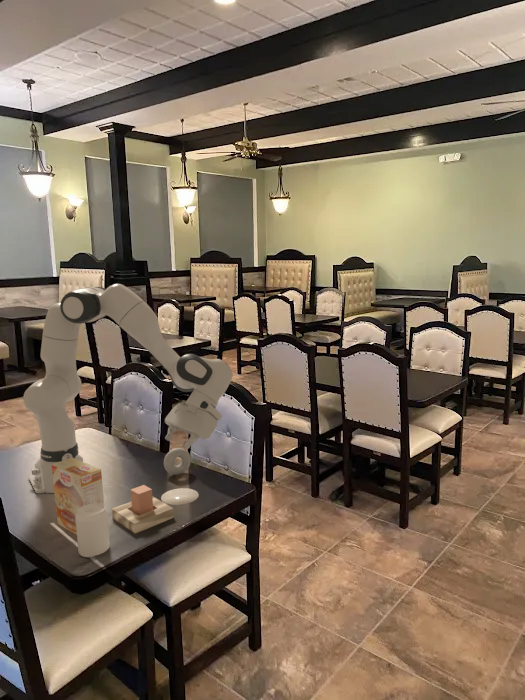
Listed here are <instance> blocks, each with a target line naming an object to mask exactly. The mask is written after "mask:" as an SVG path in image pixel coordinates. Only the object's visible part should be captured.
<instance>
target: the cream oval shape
mask: <svg viewBox="0 0 525 700" xmlns="http://www.w3.org/2000/svg"><path fill="white" fill-rule="evenodd" d="M199 497H200V496H199V492H198V491H197V490H195V489H192V488H188V487H187V488H186V487H183V488H182V487H180V488H174V489H170V490H168V491H166V492H164V493H163V494H162V495H161V497H160V499H161V500H160V501H162V502H164V503H165V504H167V505H169V506H180V505H182V506H183V505H186V504H189V503H193V502H194V501H196V500H197V499H198V498H199Z"/></svg>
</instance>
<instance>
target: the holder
mask: <svg viewBox="0 0 525 700" xmlns="http://www.w3.org/2000/svg"><path fill="white" fill-rule="evenodd" d="M152 499H153V510H152V511H150V512H147V513H144V514H142V515H139V516H138V515H136V514H135V513H133V512H132V503H131V501H129V502H127V503H124V504H121V505H118V506H115V507H113V508H111V515H112V516H111V517H112V519H113V520H115V521H116V522H118V523H119V524H120V525H122V526H123V527H125V528H126V529H127V530H129V531H130V532H132V533H133V534H138V533H140V532H143V531H145V530H147V529H151V528H153V527H155V526H158V525H159V524H162V523H164V522H167V521H168V520H171V519H174V518H175V514H174V507H172V505H170V504H166V503H164V502H163V501H162V500H160V499H158V498H157V497H155V496H153V495H152Z"/></svg>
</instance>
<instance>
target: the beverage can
mask: <svg viewBox="0 0 525 700" xmlns="http://www.w3.org/2000/svg"><path fill="white" fill-rule="evenodd" d="M108 517H109V516H108V510H107V508H106V506H105V504H104V505H102V504H98V503H93V504H88V505H84V506H82V507H80V508H79V509H78V510H77V514H76V516H75V519H76V530H77V535H76V537H77V538H76V539H77V549H78V550H77V551H78V554H79V556H81V557H84V558H95V556H98V555H101V554H103V553H105V552H107V550H109V548H110V547H111V544H110V543H111V542H110V541H111V539H110V531H109V530H110V529H109V518H108Z"/></svg>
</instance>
